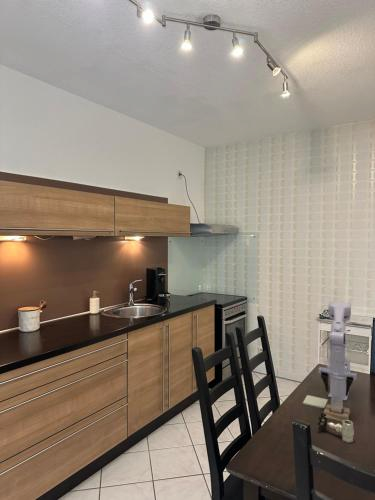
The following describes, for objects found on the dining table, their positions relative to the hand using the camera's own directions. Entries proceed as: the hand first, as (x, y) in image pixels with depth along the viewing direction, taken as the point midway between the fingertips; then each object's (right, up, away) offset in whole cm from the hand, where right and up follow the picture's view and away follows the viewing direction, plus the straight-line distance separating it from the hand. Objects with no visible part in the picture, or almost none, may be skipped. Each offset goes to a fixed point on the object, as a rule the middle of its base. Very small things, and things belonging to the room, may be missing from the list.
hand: (336, 392), depth 146 cm
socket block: (0, -9, 0) cm, 9 cm away
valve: (-7, -10, -16) cm, 20 cm away
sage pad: (-5, -9, +12) cm, 16 cm away
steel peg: (0, -9, 0) cm, 9 cm away
